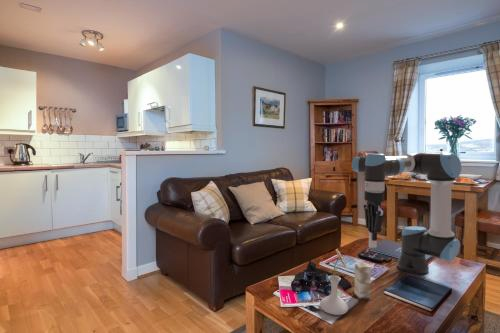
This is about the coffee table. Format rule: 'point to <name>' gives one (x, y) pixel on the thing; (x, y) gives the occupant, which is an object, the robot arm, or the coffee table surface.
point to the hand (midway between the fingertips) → (372, 247)
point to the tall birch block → (362, 281)
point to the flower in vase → (334, 294)
